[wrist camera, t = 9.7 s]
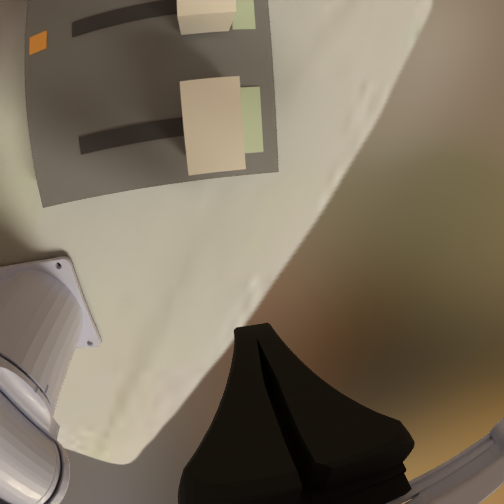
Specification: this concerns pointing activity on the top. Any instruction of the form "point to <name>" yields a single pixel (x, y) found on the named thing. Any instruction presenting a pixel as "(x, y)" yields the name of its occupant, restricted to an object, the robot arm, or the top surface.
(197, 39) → the breaker panel
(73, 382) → the top surface
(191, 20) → the breaker
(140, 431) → the top surface
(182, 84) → the block
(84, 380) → the top surface
